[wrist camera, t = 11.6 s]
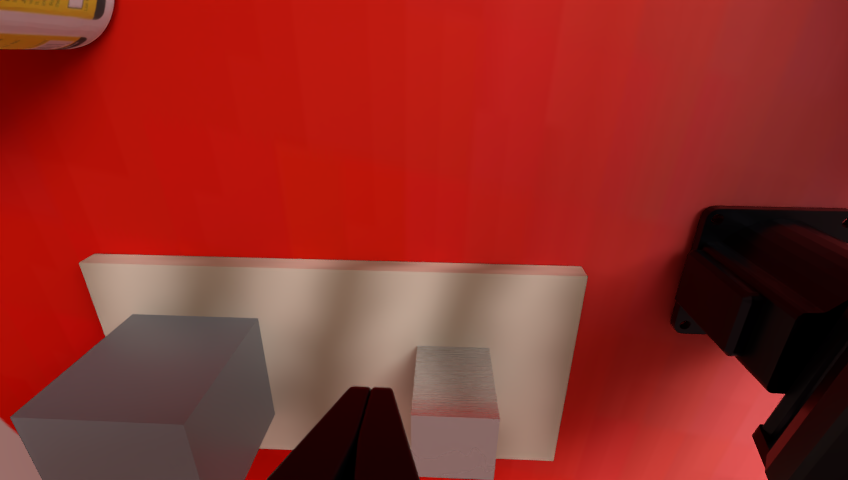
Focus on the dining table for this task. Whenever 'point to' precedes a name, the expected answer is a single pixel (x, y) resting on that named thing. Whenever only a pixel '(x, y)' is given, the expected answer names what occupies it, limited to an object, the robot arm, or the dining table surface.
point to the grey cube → (454, 413)
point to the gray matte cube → (155, 404)
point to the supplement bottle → (52, 23)
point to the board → (370, 328)
